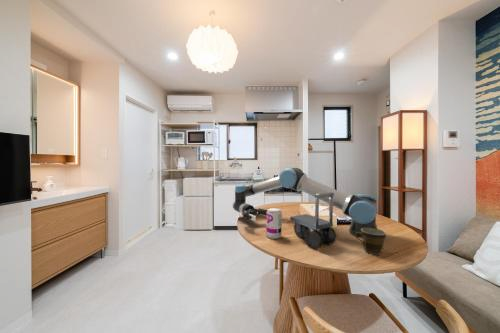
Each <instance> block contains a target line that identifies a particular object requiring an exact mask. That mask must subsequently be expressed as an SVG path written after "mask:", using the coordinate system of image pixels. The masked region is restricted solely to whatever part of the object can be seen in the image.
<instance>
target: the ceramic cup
mask: <svg viewBox="0 0 500 333" xmlns="http://www.w3.org/2000/svg"><path fill="white" fill-rule="evenodd" d="M357 233H360V234H361V235H362V238H360V237H357V236H356V234H357ZM386 236H387V233H386V232H385V231H384V230H381V229H379V228H378V229H374V228H362V229H361V232H356V233H355V236H354V237H355V238H356V239H357V240H359V241H360V242H361V243H362V245H363V251H364V252H365V253H366V254H367V253H368V255H370V254H371V256H378V255H379V256H380V255H381V254H382V252H383V249H384V244H385V242H386Z"/></svg>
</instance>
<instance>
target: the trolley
mask: <svg viewBox="0 0 500 333" xmlns="http://www.w3.org/2000/svg"><path fill="white" fill-rule="evenodd" d="M333 196H334V193H323V194H315V197H314V198H315V204H314V207H315V209H314V215H311V214H308V213H305V214H299V215H293V216H289V221H291V222H294V224H293V231H294V233H295V235H296V236H297V237H298V238H300V239H304V241H305V244H306V245H307V247H308V248H310V249H312V250H314V249H319V248H321V246H322V244H323V245H327V246H328V245H333V244H335V242H336V240H337V234H336V231H335V230H334V228H333V226H334V222H333V219H334V218H333V212H334V210H333V208H334V206H333ZM322 197H330V203H329V204H328V206H329V207H328V209H329V210H328V214H329V215H328V220H326V219H323V218H320V217H319V214H320V213H319V210H320V199H319V198H322Z"/></svg>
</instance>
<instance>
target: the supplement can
mask: <svg viewBox="0 0 500 333" xmlns="http://www.w3.org/2000/svg"><path fill="white" fill-rule="evenodd" d="M266 210H267V215H266V224H265V225H266V231H265V232H266V234H265V235H266V237H267V238H269V239H272V240H275V239H280V238H281V237H282V223H283V219H282V217H283V214H282V209H281V208H277V207H276V208H275V207H270V208H268V209H266Z"/></svg>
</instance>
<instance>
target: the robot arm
mask: <svg viewBox="0 0 500 333" xmlns="http://www.w3.org/2000/svg"><path fill="white" fill-rule="evenodd" d="M282 187H283V188H285V189H291V190H293V191H295V192H301V191H302V192H304V193H306V194H308V195H309V196H312V197H314V198H315V194H323V193H334V196H333V207H335V208H338V209H339V210H341V211H342V214H343V215H345V216H348V217H350V219H351V222H350V226H349V228H348V232H349V234H350V235H351V236H354V237H356V236H357V237H358V238H360V239H362V235H361V234H360V233H357V234H356V236H355V233H356V232H361V229H362V228H374V229H379V228H378V226H377V223H376V222H377V202H378V200H377V196H376V195H371V194H361V193H355V194H350V195H348V194H345V193H343V192H342V191H339V190H337V189H335V188H332V187H330V186H328V185H326V184H323V183H321V182H319V181H316V180H314V179H311V178H309V177H308V175H307V173H304V172H303V170H302V169H301V168H298V167H291V168H290V167H287V168H284V169H283V170H282V171H280V173H279V176H275V177H272V178H270V179H266V180H262V181H260V182H256V183H254V184H250V185H247V186H246V185H245V184H236V185H235V188H234V202H232V208H233V210H234V211H235V212H237V213H240V214H241V215H242V219H244V220H245V219H246V220H251V221H253V222H256V221H257V216H259V215H261V216H262V215H263V216H267V210H268V209H263V208H255V207H254V205H251V204H249V203H246V202H247V201H246V200H247V199H246V198H247V197H250V196H254V195H256V194H257V195H258V194H261V193H265V192H269V191H271V190H276V189H278V188H282ZM320 200H321V201H322V202H324V203H327V204H328V205H329V203H330V197H322V198H319V201H320Z"/></svg>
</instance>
